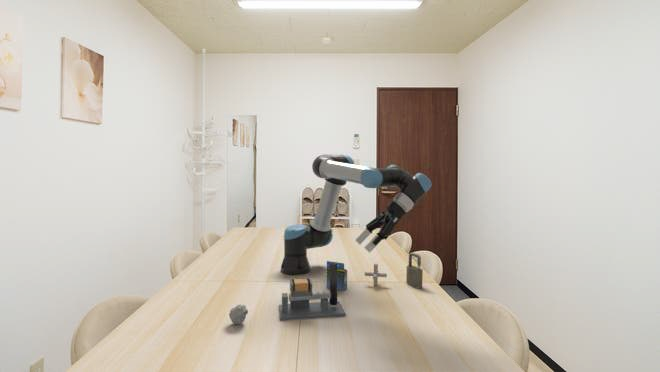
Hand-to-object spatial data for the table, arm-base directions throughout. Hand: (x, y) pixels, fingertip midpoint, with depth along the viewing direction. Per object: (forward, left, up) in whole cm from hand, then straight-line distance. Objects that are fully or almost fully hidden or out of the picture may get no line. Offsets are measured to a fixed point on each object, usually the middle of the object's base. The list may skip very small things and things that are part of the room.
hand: (361, 246), depth 137 cm
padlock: (+18, +34, -25) cm, 46 cm away
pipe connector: (+1, +28, -25) cm, 37 cm away
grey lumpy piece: (-37, -27, -25) cm, 52 cm away
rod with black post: (-17, -8, -22) cm, 29 cm away
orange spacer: (-21, -11, -18) cm, 29 cm away
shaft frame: (-17, -9, -25) cm, 31 cm away
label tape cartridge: (-15, +19, -25) cm, 35 cm away
